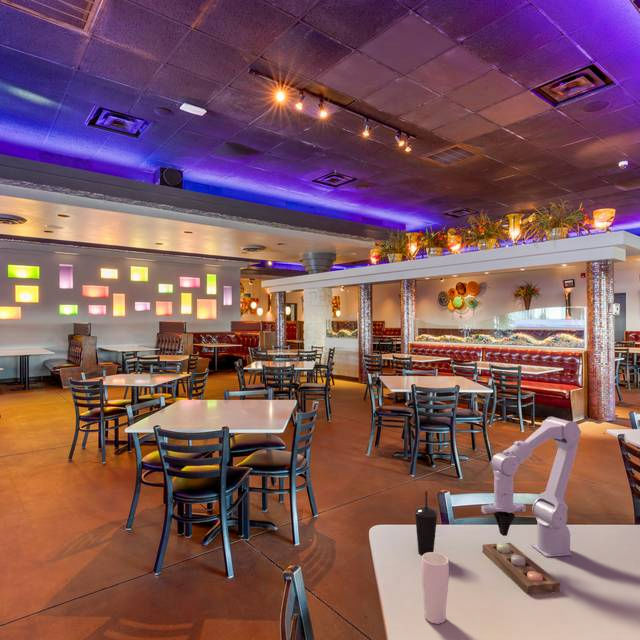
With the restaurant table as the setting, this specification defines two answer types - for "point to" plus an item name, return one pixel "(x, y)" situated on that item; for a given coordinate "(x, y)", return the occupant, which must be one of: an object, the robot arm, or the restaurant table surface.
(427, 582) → the drinking glass
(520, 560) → the grey button
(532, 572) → the terracotta button
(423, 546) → the drinking cup
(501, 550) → the sage button
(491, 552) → the panel
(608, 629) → the restaurant table surface
